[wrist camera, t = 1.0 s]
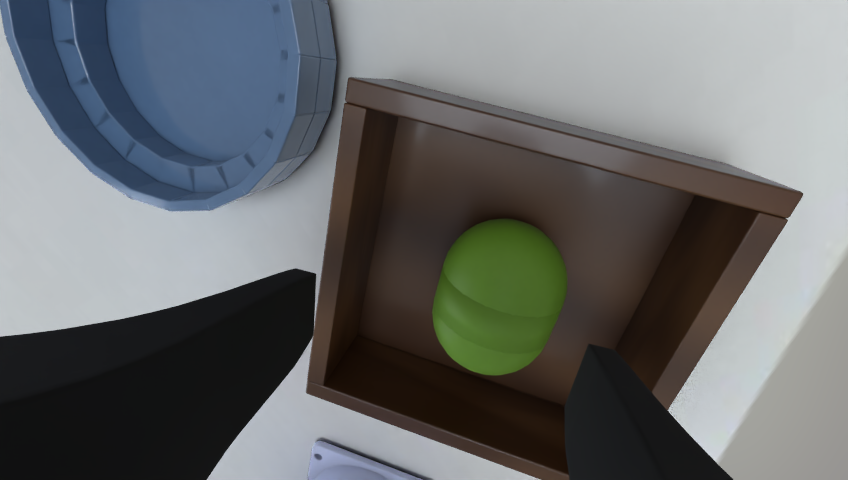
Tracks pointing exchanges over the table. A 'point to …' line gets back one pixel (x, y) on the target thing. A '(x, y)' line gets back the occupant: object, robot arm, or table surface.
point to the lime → (499, 296)
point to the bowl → (179, 90)
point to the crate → (558, 219)
